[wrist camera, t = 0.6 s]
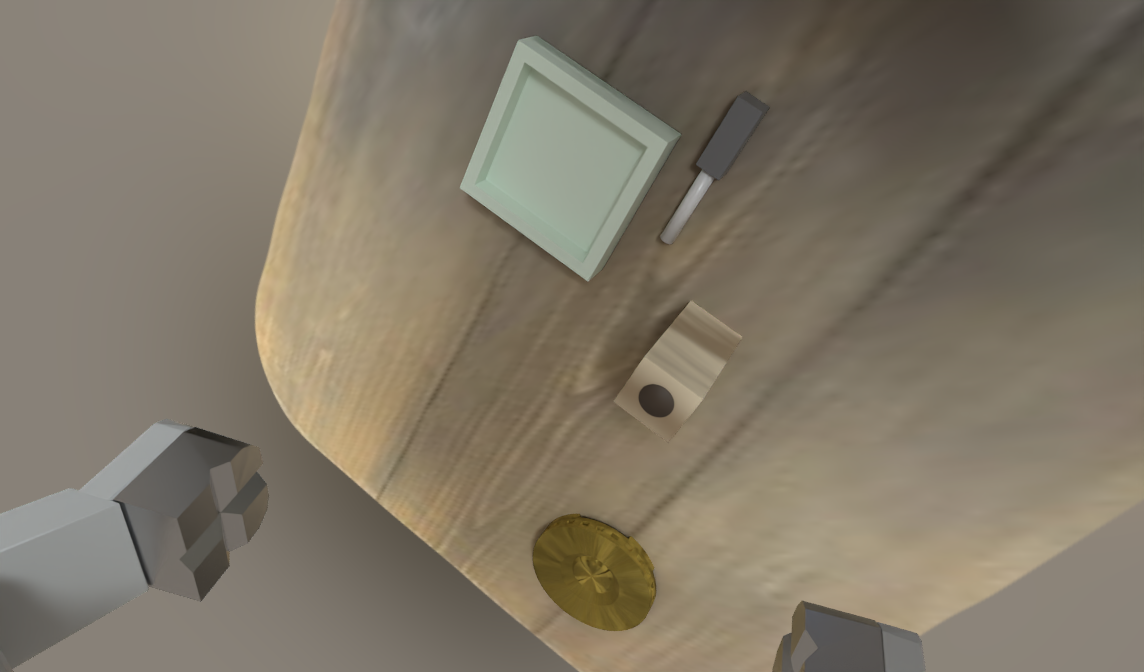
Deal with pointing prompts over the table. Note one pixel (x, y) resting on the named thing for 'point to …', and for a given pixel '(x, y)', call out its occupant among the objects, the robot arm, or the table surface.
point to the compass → (595, 573)
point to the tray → (565, 157)
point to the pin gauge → (718, 156)
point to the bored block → (678, 371)
